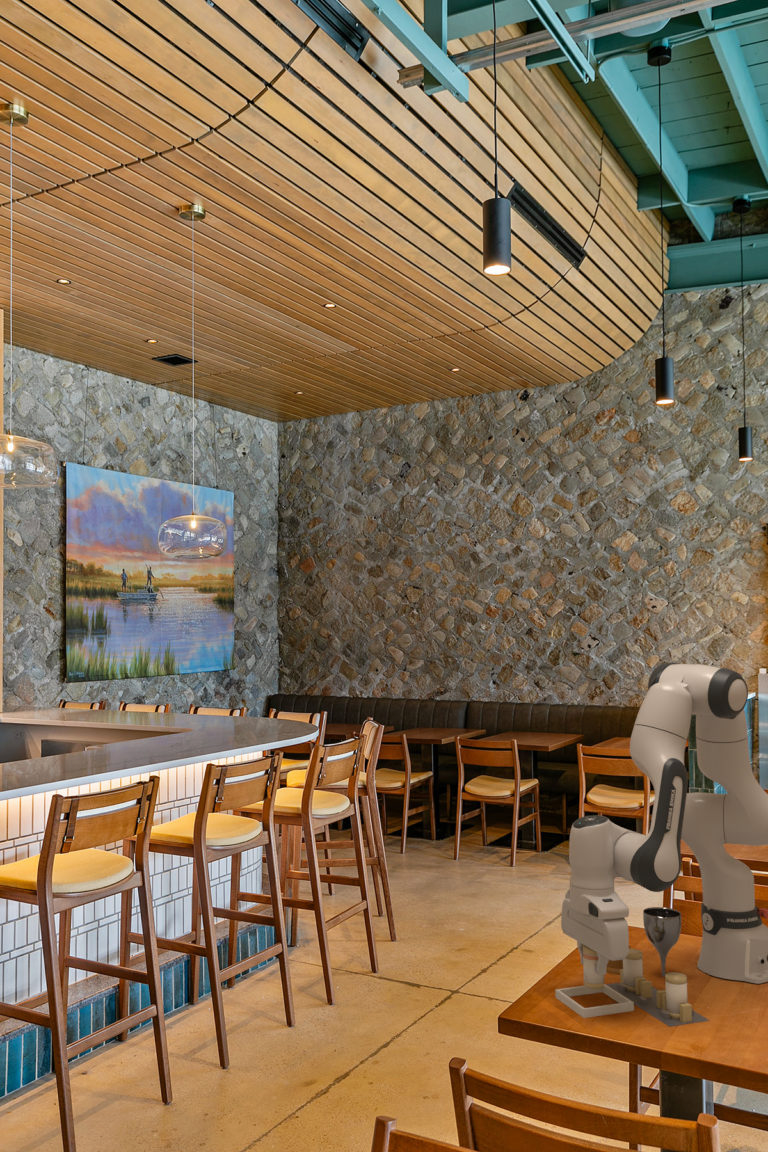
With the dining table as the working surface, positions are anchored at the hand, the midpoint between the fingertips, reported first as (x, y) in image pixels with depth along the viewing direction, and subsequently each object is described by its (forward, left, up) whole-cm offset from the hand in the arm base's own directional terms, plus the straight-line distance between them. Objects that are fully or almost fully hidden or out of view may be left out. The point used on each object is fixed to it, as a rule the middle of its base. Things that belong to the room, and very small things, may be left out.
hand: (593, 969), depth 187 cm
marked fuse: (0, 0, -3) cm, 3 cm away
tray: (0, 0, -8) cm, 8 cm away
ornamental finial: (-16, -16, -9) cm, 24 cm away
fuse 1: (-12, -5, -7) cm, 15 cm away
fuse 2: (-12, +10, -7) cm, 17 cm away
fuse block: (-12, +3, -8) cm, 15 cm away
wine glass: (-23, -9, -8) cm, 26 cm away
